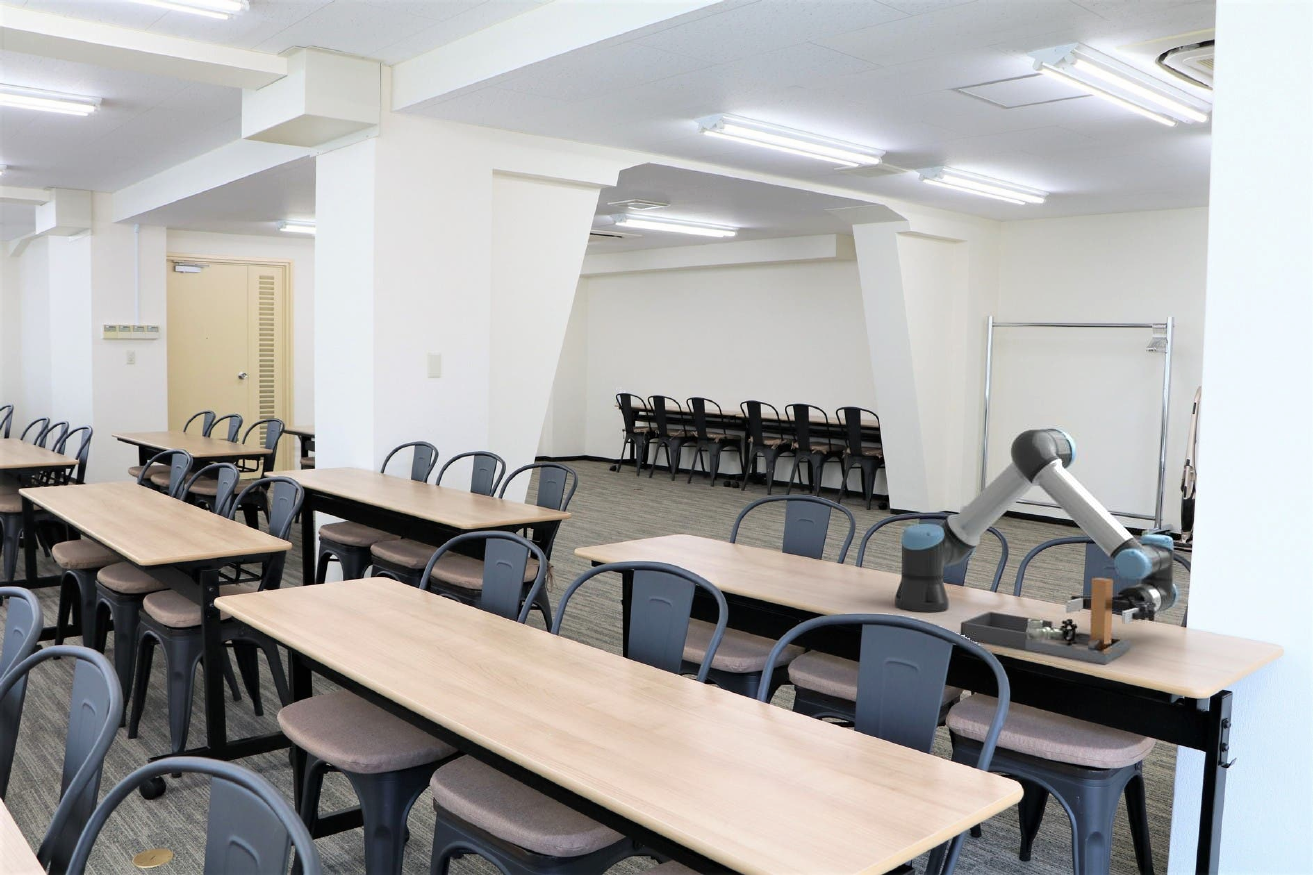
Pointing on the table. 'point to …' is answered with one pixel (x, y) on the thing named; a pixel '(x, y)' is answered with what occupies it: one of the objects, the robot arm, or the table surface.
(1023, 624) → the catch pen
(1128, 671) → the table surface
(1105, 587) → the brown wooden block
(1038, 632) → the valve
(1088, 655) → the slot rails
